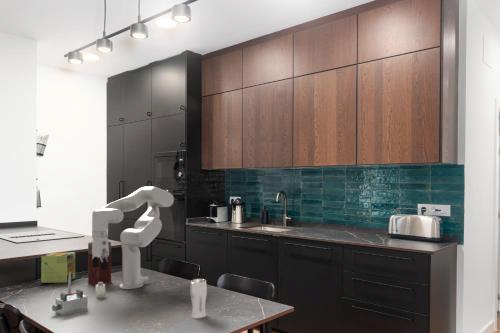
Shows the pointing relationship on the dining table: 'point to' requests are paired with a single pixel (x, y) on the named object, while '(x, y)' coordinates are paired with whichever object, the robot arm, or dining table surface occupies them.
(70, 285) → the tow hook
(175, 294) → the dining table surface
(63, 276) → the protein box
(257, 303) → the dining table surface
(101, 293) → the bottle
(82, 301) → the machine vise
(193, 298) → the beer glass
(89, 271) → the red canister
